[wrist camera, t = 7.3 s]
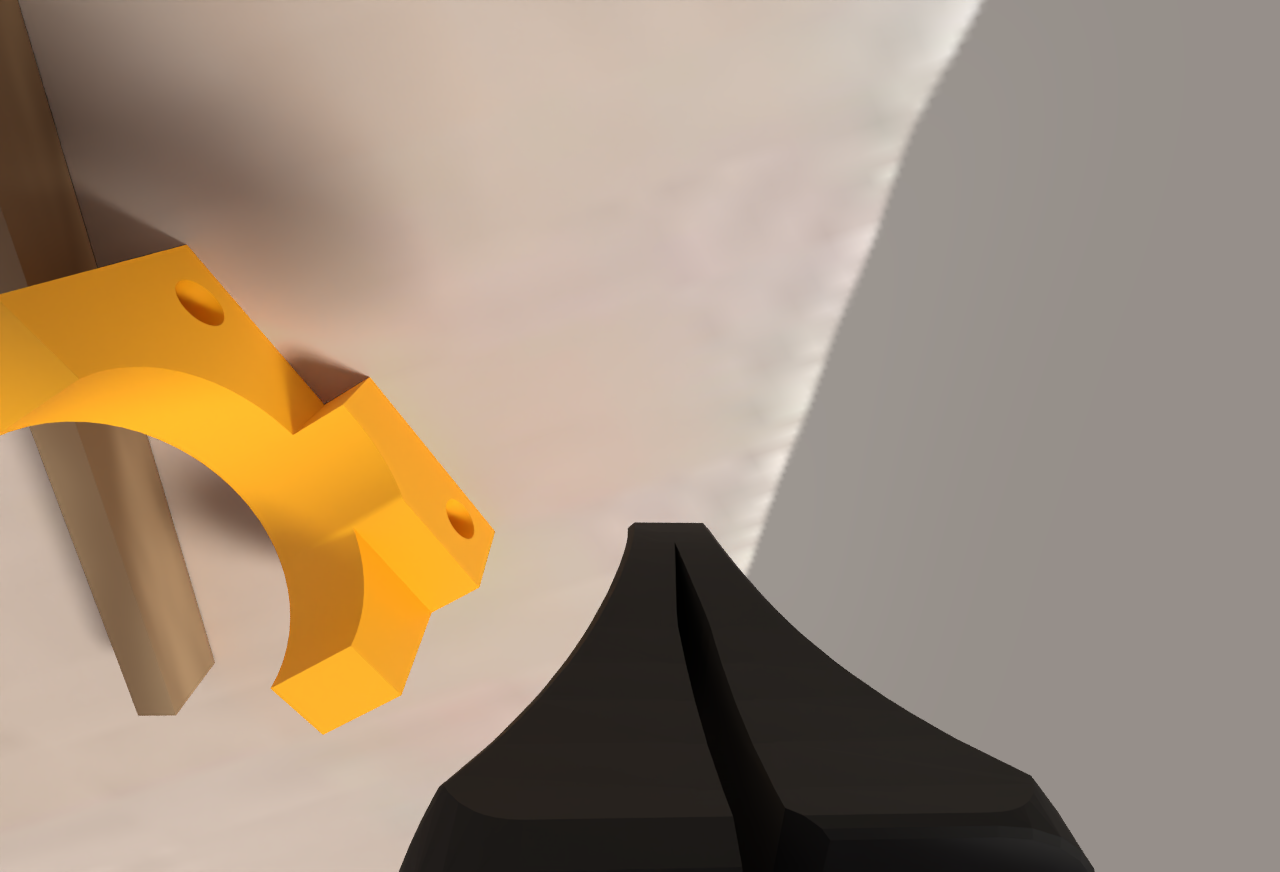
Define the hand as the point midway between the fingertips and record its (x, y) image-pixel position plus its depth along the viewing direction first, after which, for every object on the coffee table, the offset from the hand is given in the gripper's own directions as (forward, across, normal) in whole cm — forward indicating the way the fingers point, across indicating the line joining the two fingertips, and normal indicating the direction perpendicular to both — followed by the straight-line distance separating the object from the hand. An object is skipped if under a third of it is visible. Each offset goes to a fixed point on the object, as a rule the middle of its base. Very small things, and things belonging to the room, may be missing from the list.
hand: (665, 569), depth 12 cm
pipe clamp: (+10, +10, +1) cm, 14 cm away
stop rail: (+9, +16, 0) cm, 18 cm away
